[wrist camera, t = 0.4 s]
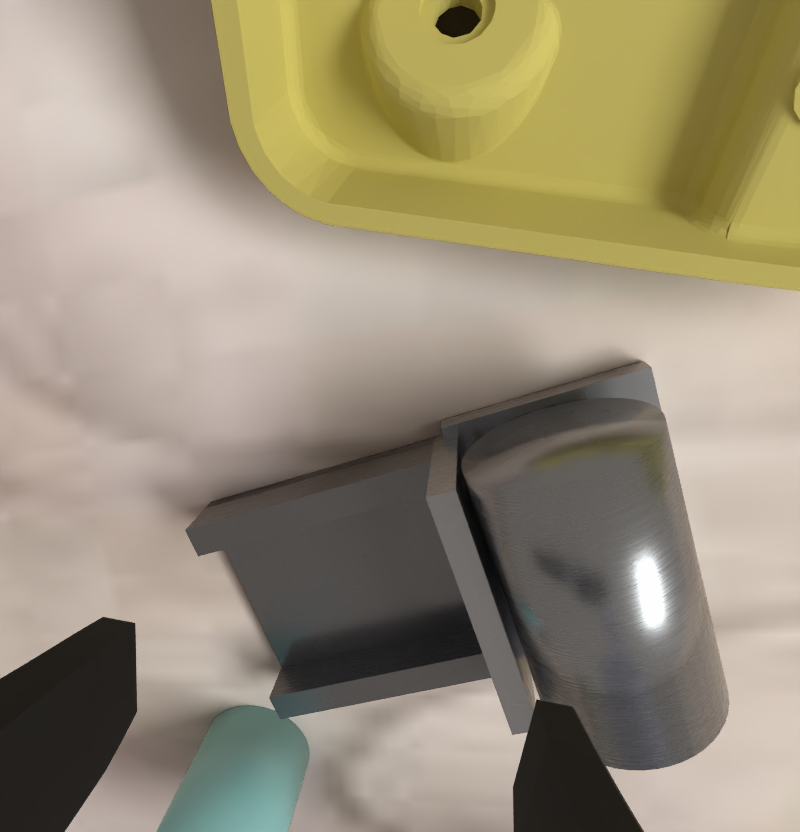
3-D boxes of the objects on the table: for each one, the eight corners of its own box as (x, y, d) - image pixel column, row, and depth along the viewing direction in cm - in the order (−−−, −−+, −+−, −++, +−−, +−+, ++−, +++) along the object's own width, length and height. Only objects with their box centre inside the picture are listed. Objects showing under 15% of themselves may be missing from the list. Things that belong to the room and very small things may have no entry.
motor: (707, 635, 20) (801, 795, 15) (312, 713, 23) (263, 871, 18) (643, 361, 17) (728, 427, 12) (205, 489, 21) (106, 591, 15)
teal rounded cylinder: (325, 778, 24) (277, 968, 18) (233, 793, 25) (157, 980, 19) (285, 696, 23) (219, 870, 17) (190, 716, 24) (94, 888, 18)
